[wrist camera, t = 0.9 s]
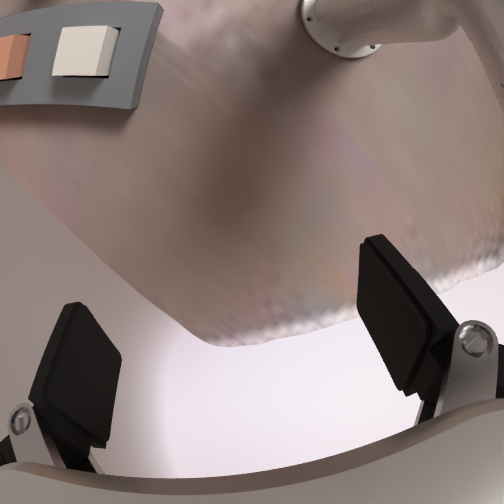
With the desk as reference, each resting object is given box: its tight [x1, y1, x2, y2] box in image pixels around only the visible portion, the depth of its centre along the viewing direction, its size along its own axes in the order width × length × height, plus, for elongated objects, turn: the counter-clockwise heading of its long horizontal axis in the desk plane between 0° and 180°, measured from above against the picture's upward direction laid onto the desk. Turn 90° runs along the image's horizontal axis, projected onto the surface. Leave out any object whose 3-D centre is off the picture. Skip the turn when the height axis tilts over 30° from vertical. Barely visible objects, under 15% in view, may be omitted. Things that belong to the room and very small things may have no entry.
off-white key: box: [52, 26, 120, 76], centre depth 23 cm, size 6×6×5 cm
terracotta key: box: [0, 35, 30, 80], centre depth 20 cm, size 6×6×5 cm
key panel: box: [0, 2, 164, 109], centre depth 24 cm, size 14×28×4 cm, turn 74°
